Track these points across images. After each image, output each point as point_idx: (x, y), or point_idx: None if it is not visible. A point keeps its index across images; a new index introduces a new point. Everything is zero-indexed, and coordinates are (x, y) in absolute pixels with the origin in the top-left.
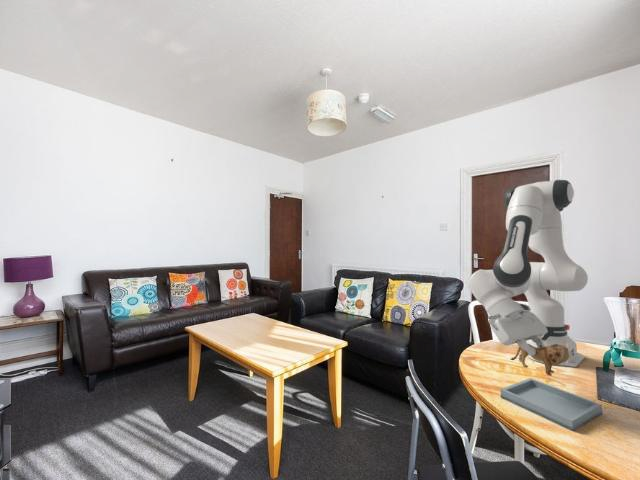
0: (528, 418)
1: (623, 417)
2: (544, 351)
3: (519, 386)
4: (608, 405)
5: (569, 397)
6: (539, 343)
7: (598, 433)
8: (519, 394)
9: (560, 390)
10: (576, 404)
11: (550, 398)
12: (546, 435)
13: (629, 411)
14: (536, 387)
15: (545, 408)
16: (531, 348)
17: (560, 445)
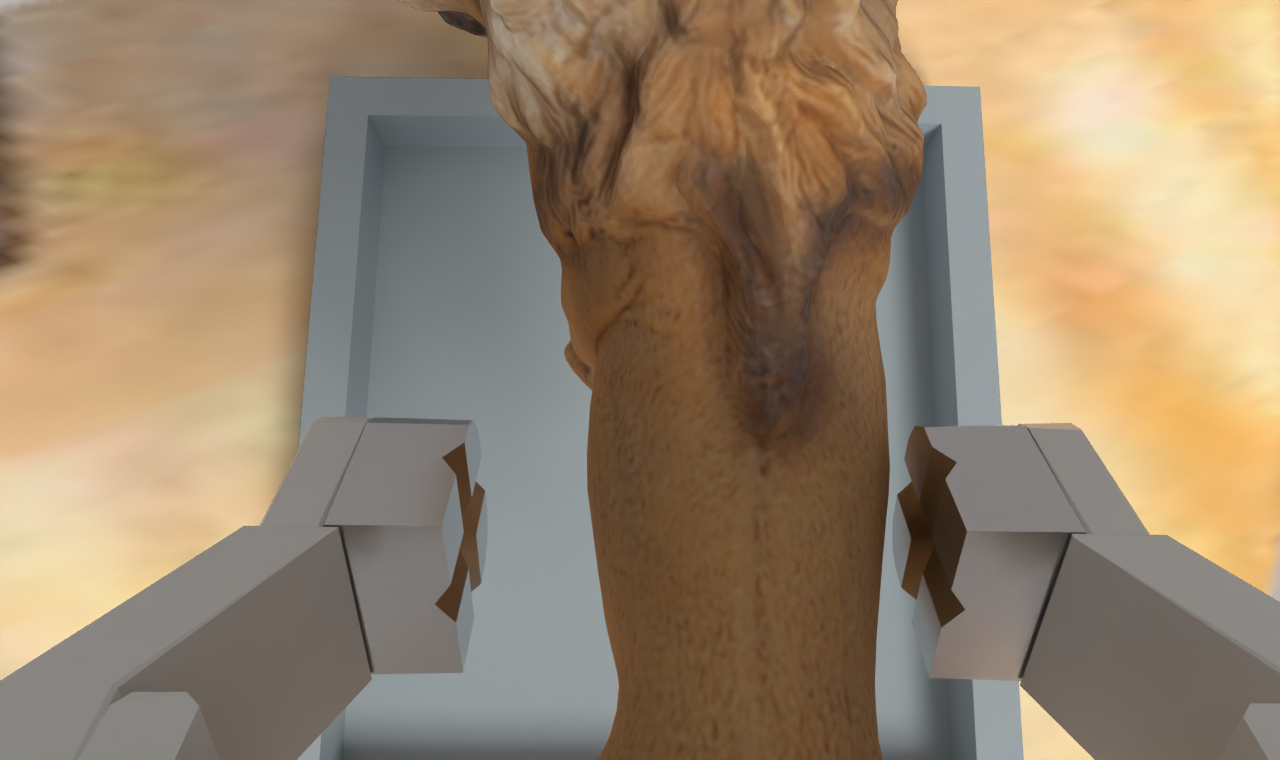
0: (1115, 428)
1: (261, 12)
2: (870, 239)
3: None
4: (94, 157)
5: (360, 363)
6: (286, 661)
7: None
8: None
9: None
10: (423, 286)
11: (529, 489)
12: (1227, 210)
13: (71, 22)
14: (364, 730)
15: (980, 324)
16: (1121, 515)
17: (1254, 94)
